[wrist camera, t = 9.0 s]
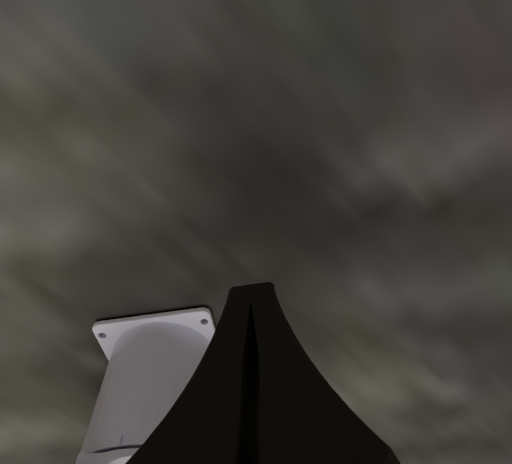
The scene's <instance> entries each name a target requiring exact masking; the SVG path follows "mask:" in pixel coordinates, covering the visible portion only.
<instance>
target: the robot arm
mask: <svg viewBox="0 0 512 464" xmlns="http://www.w3.org/2000/svg"><path fill="white" fill-rule="evenodd" d="M202 319H206V320H202ZM92 330H93V333H94V334H95V336H96V338H97V340H98V342H99V344H100V346H101V348H102V350H103V351H104V353H105V355H106V357H107V359H108V361H109V364H108V367H107V370H106V373H105V376H104V379H103V383H102V386H101V389H100V392H99V395H98V398H97V401H96V404H95V408H94V411H93V414H92V417H91V420H90V423H89V426H88V429H87V433H86V436H85V439H84V442H83V445H82V448H81V451H80V453H79V454H78V457H77V460H76V463H75V464H400V462H399V460H398V459H397V457H396V456H395V454H394V452H393V451H392V449H391V448H390V447H389V446H388V445H387V444H386V443H385V442H384V441H382V440H381V439H380V438H379V437H378V436H377V435H376V434H375V433H374V432H373V431H372V430H371V429H370V428H369V427H368V426H367V425H366V424H365V423H364V422H363V421H362V420H361V419H360V418H359V417H358V416H357V415H356V414H355V413H354V412H353V411H352V410H351V409H350V408H349V407H348V406H347V404H346V403H345V402H344V401H343V400H342V399H341V398H340V397H339V395H338V394H337V393H336V392H335V391H334V390H333V389H332V387H331V386H330V385H329V384H328V382H327V381H326V380H325V379H324V377H323V376H322V375H321V374H320V372H319V371H318V369H317V368H316V367H315V365H314V364H313V363H312V361H311V360H310V358H309V357H308V355H307V354H306V352H305V351H304V349H303V348H302V346H301V344H300V343H299V341H298V340H297V338H296V336H295V334H294V333H293V331H292V329H291V327H290V325H289V323H288V321H287V320H286V318H285V316H284V313H283V311H282V309H281V307H280V304H279V302H278V299H277V296H276V293H275V289H274V284H272V283H271V282H266V283H258V284H251V285H244V286H236V287H232V288H231V289H230V290H229V294H228V298H227V301H226V304H225V307H224V310H223V313H222V315H221V318H220V320H219V323H218V325H217V327H216V329H215V326H214V322H213V319H212V315H211V312H210V310H209V309H207V308H205V307H201V308H194V309H186V310H179V311H172V312H164V313H157V314H149V315H142V316H134V317H127V318H120V319H112V320H105V321H98V322H95V323H94V325H93V328H92ZM103 333H104V334H103Z"/></svg>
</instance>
